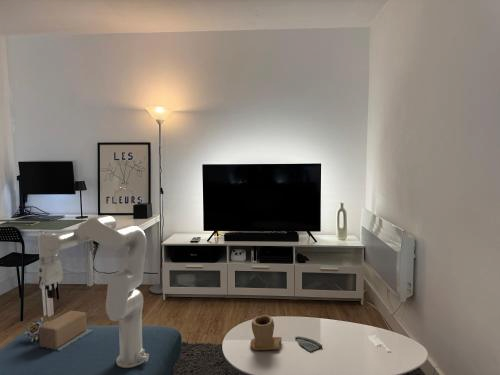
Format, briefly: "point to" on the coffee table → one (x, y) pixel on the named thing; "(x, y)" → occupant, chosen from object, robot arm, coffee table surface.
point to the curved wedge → (308, 344)
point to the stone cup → (264, 334)
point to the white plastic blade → (377, 342)
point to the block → (62, 329)
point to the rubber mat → (74, 339)
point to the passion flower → (35, 329)
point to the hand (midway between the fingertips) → (51, 297)
